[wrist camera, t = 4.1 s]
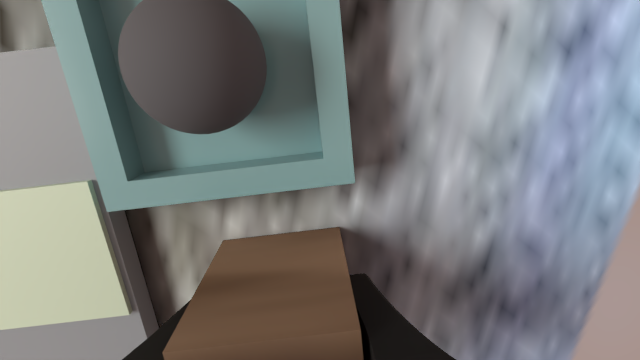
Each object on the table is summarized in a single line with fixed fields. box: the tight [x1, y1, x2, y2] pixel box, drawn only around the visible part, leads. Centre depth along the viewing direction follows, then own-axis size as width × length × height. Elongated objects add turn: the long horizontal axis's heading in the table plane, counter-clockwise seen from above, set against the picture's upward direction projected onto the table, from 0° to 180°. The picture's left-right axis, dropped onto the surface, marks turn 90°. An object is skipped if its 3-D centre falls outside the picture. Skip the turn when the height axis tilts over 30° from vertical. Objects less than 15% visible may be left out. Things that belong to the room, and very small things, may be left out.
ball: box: [118, 0, 267, 134], centre depth 8 cm, size 3×3×3 cm
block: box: [162, 227, 363, 360], centre depth 10 cm, size 4×4×5 cm
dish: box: [41, 0, 355, 212], centre depth 9 cm, size 7×7×2 cm
